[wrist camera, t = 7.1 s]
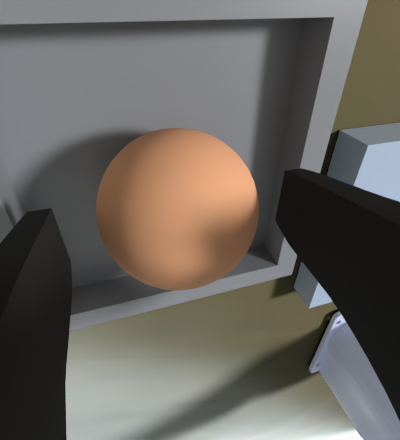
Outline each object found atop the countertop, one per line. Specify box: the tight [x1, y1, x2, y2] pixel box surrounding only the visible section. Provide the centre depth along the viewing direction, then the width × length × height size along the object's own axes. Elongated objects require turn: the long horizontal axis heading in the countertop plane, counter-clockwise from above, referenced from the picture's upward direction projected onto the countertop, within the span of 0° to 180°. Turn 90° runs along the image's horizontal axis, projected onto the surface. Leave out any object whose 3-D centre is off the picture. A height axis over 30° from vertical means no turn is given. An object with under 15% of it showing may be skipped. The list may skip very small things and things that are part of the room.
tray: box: [0, 0, 368, 331], centre depth 11 cm, size 12×12×2 cm
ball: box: [96, 128, 259, 290], centre depth 10 cm, size 5×5×5 cm
